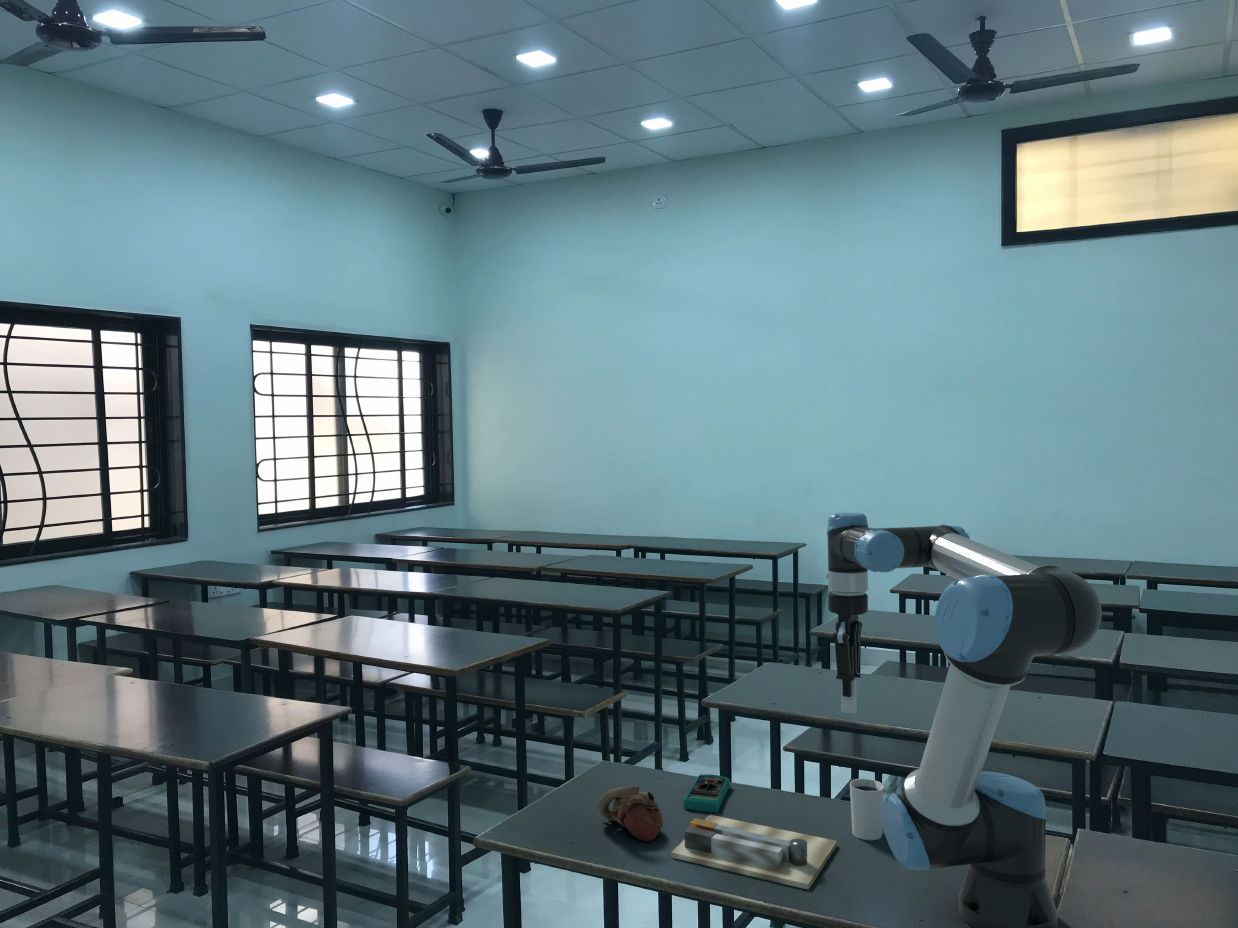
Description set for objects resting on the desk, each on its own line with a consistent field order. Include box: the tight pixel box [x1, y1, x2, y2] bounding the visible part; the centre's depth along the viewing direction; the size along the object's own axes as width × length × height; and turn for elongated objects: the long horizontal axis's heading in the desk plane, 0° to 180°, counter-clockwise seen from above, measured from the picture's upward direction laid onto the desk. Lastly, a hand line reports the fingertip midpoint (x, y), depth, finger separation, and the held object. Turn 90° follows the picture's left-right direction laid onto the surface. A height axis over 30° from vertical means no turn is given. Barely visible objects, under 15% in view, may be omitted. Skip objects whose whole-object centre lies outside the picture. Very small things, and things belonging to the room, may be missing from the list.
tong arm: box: [689, 818, 807, 866], centre depth 173 cm, size 24×3×4 cm, turn 59°
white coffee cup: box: [849, 778, 885, 841], centre depth 181 cm, size 7×7×10 cm
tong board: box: [670, 814, 838, 890], centre depth 174 cm, size 27×19×4 cm
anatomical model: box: [598, 785, 664, 843], centre depth 184 cm, size 13×9×15 cm
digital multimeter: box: [683, 773, 731, 813], centre depth 201 cm, size 8×15×3 cm, turn 162°
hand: (848, 711), depth 176 cm, fingers closed
